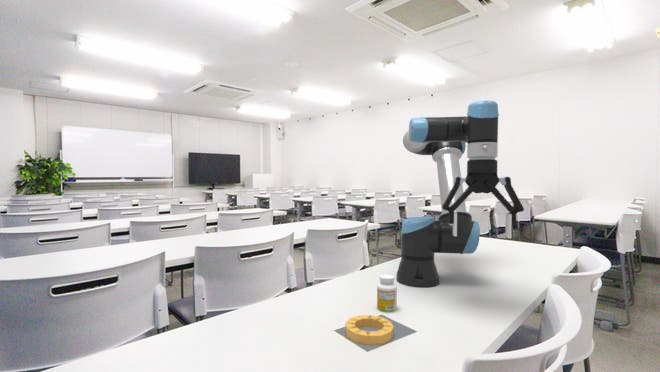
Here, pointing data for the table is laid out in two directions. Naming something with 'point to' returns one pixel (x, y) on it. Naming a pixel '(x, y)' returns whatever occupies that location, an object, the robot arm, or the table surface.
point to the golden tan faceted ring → (371, 336)
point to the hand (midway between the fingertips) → (481, 236)
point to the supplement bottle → (386, 294)
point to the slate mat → (399, 329)
